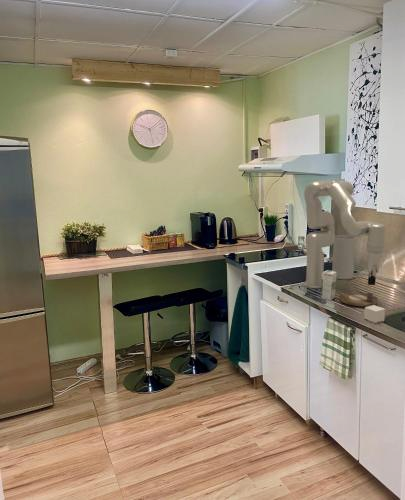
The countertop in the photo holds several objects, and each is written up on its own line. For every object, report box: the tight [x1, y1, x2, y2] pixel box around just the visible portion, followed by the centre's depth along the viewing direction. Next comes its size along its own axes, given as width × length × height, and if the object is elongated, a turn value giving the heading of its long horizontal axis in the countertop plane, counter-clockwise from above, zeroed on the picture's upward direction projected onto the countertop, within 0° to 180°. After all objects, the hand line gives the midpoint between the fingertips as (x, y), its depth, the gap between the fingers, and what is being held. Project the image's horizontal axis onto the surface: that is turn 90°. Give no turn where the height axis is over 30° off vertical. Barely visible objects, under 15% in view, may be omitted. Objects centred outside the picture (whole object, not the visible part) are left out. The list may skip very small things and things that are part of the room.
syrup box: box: [320, 270, 337, 301], centre depth 217 cm, size 6×6×14 cm
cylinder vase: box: [331, 235, 357, 281], centre depth 254 cm, size 12×12×25 cm
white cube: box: [363, 304, 386, 322], centre depth 188 cm, size 6×6×6 cm
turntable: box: [339, 291, 378, 307], centre depth 211 cm, size 18×18×6 cm
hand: (371, 284), depth 207 cm, fingers closed
